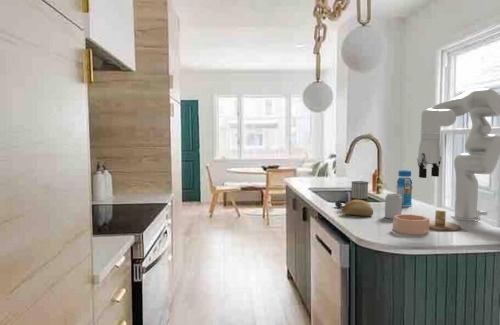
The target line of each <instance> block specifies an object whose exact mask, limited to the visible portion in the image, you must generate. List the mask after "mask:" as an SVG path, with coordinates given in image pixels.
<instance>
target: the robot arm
mask: <svg viewBox="0 0 500 325" xmlns="http://www.w3.org/2000/svg"><path fill="white" fill-rule="evenodd" d="M467 113H469V116H470V120H471V125H472V126H471V129H470V131H469V133H468V136H467V138H466V141H465V144H464V150H465V151H466V152H463V153H459V154H457V155H456V156H455V157H454V161H453V162H454V164H453V165H454V170H455V171H454V172H455V194H454V196H455V197H454V198H455V200H454V213H452V214H451V215H450V217H451V218H452V219H455V220H459V221H460V220H462V221H475V222H478V221H481V216H488V212H487V211H484V210H483V211H482V210H479V209H478V201H479V200H478V199H479V197H478V194H479V193H478V192H479V181H478V178H477V177H476V175H491V174H492V173H494V171H495V169H496V167H497V164H498V161H499V160H500V135H498V134H495V133H494V134H491V133H492V126H491V124H490V122H489V121H488V120H487V119H486V117H487V118H489V117H490V118H491V117H500V93H498V92H497V91H496V90H494V89H492V88H489V87H488V88H486V87H485V88H476V89H469V90H466V91H465V92H463V93H461V94H460V95H458V96H456V97H454V98H453V99H450V100H449V99H448V100H446V101H443V102H440V103H437V104H434V105H433V106H431V107H429V108H427V109H424V110H422V112H421V118H420V119H421V123H420V125H421V129H420V142H419V147H418V155H417V158H416V160H417V165H418V166H417V167H418V169H419V170H418V177H419V178H420V179H421V178H422V179H427V174H428V170H427V169H428V168H427V166H428V165H431V177H435V178H436V177H437V178H439V176H440V167H441V166H440V165H441V163H442V162H441V161H442V157H441V153H440V152H441V151H440V150H441V149H440V148H441V147H440V141H441V140H440V139H441V138H440V137H441V136H440V135H441V134H440V133H441V132H440V131H441V127H451V126H452V125H454V124H455V123H456V120H457V117H461V116H463V115H464V116H465V114H467ZM475 174H476V175H475Z"/></svg>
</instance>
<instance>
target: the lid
mask: <svg viewBox="0 0 500 325" xmlns="http://www.w3.org/2000/svg"><path fill="white" fill-rule="evenodd" d="M446 211H447V210H441V209H435V213H434V214H435V217H434V220H429V229H431V230H438V231H457V230H460V229H461V228H462V227H461V225H460V224H458V223H454V222H449V221H446V213H447V212H446Z"/></svg>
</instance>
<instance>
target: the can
mask: <svg viewBox="0 0 500 325" xmlns="http://www.w3.org/2000/svg"><path fill="white" fill-rule="evenodd" d="M402 207H403V206H402V197H401V196H400V194H397V193H394V192H393V193H391V192H390V193H386V196H385V201H384V217H385V218H386V219H390V220H393V216H395V215H399V214H402V209H403V208H402Z"/></svg>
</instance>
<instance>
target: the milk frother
mask: <svg viewBox="0 0 500 325" xmlns="http://www.w3.org/2000/svg"><path fill="white" fill-rule="evenodd" d="M368 195H369V181H364V180H354V181H351V198H350V201H351V200H353V199H355V200H364V201H366V202H368V197H369V196H368ZM347 202H348V201H345V200H340V199H339V200H337V201H336V202H335V203H334V204H335V207H337V208H338V209H339V208H340V209H343V207H344V206H345V204H346V203H347ZM343 204H344V205H343Z"/></svg>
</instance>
